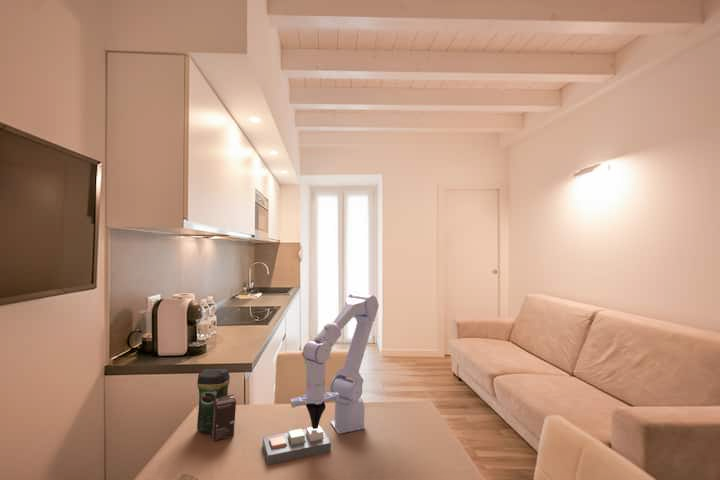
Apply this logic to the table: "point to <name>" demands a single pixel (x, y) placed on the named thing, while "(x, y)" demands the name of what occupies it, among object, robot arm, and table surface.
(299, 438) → the sage key
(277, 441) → the terracotta key
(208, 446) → the table surface
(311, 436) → the cream key
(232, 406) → the box
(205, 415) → the coffee jar
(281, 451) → the keypad
